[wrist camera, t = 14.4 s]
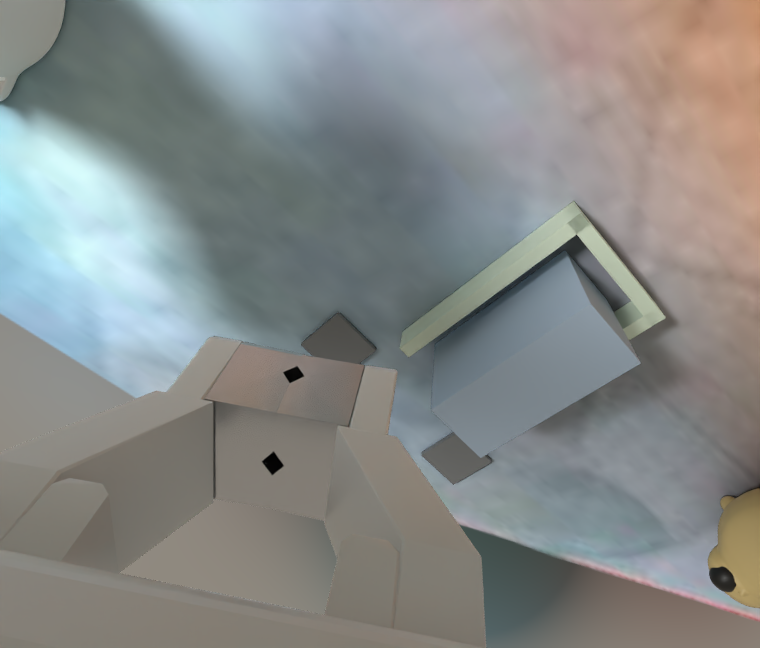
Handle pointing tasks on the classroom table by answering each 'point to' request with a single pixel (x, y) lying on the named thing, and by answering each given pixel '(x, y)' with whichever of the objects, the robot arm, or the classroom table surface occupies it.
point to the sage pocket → (520, 260)
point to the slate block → (528, 356)
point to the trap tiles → (353, 347)
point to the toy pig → (738, 549)
